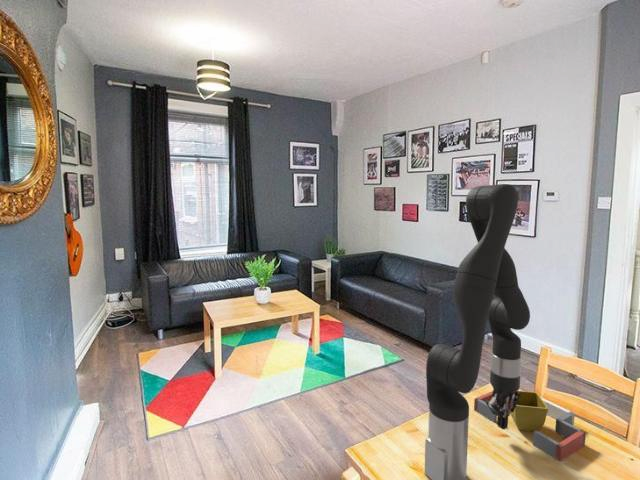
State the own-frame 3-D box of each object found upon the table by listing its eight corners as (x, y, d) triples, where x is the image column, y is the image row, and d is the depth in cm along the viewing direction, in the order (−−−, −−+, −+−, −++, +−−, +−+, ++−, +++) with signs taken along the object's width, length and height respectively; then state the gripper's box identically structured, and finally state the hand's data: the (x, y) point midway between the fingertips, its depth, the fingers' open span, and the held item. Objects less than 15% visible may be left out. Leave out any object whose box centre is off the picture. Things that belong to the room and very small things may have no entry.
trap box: (596, 437, 104) (597, 424, 104) (560, 461, 95) (561, 447, 94) (510, 393, 127) (510, 383, 127) (474, 410, 118) (474, 398, 117)
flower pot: (547, 437, 104) (549, 408, 103) (514, 434, 106) (515, 405, 105) (535, 419, 113) (537, 392, 112) (505, 416, 115) (506, 389, 113)
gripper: (502, 382, 95) (499, 442, 97) (532, 369, 101) (528, 427, 104) (478, 370, 101) (475, 427, 104) (507, 359, 108) (504, 413, 110)
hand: (502, 427), depth 104 cm, fingers closed
